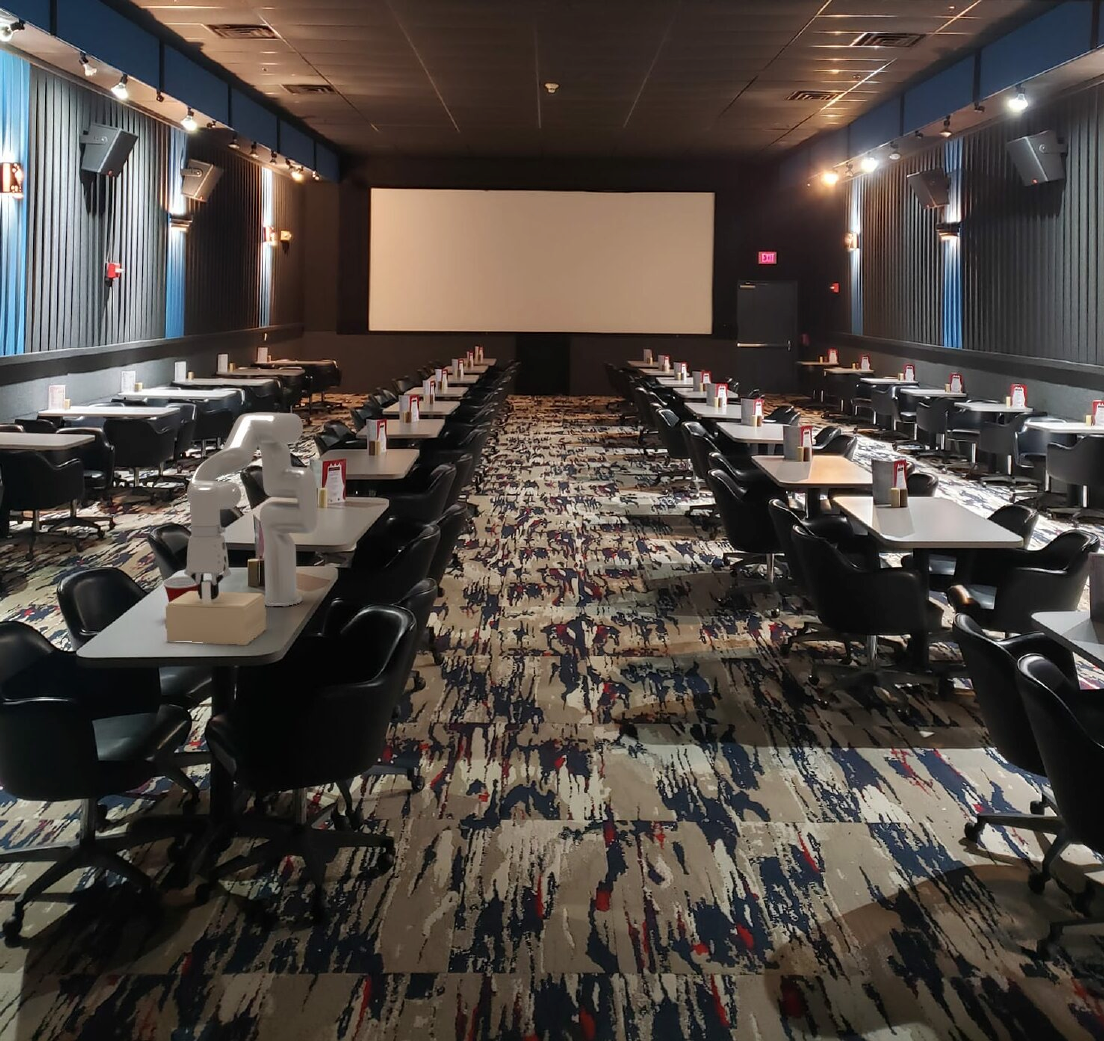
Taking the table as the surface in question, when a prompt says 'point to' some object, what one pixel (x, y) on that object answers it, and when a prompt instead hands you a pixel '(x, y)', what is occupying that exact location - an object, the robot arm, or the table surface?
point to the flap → (221, 601)
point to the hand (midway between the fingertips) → (208, 597)
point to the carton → (216, 623)
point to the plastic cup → (179, 586)
